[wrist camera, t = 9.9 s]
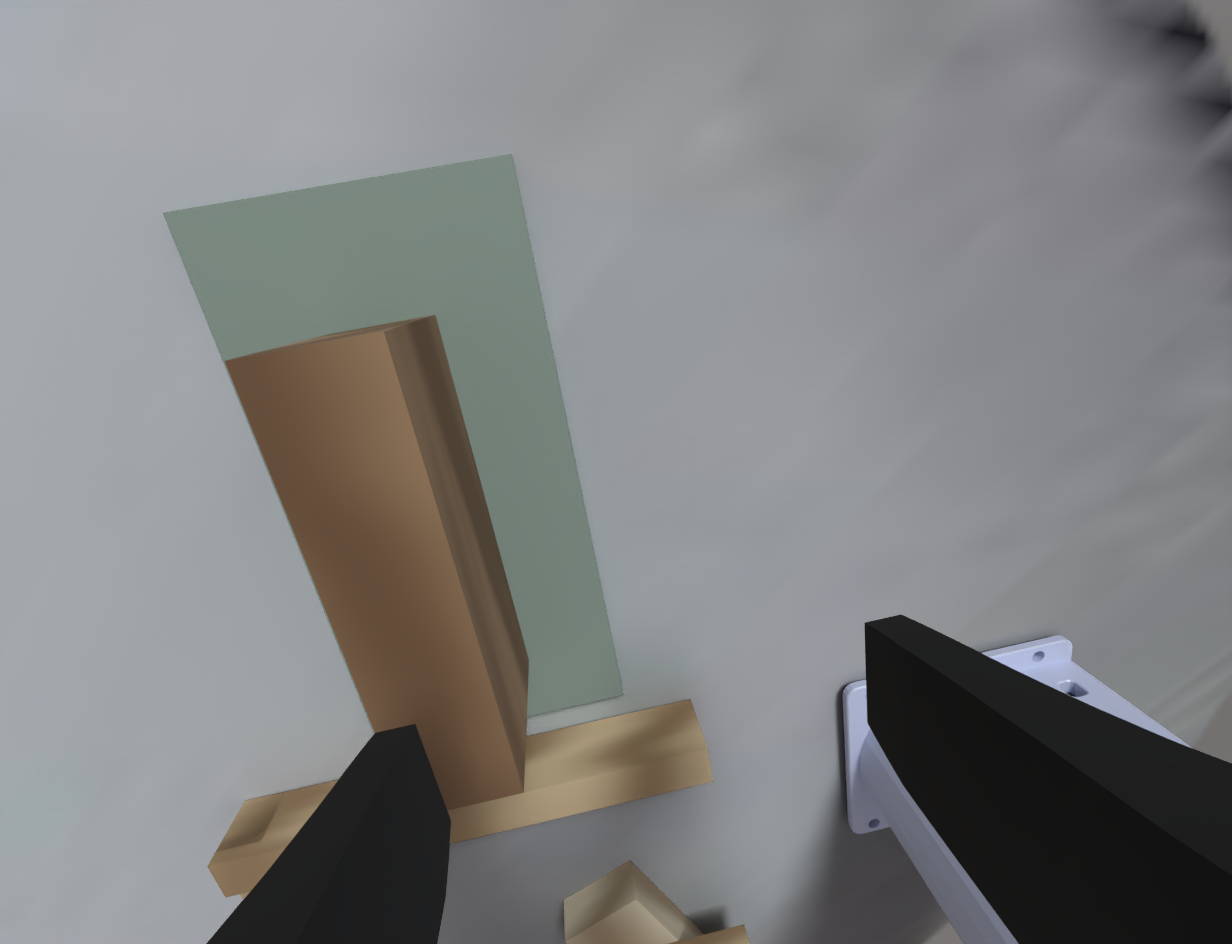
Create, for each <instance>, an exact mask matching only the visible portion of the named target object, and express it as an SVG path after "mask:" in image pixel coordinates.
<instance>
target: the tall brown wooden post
mask: <svg viewBox="0 0 1232 944" xmlns="http://www.w3.org/2000/svg"><path fill="white" fill-rule="evenodd" d="M225 364H226V366H227V369H228V371H229V374H230V376H231V379H232V381H233V384H234V386H235V389H236V391H237V393H238V396H239V398H240V401H241V403H242V406H243V408H244V411H245V413H246V416H247V418H248V421H249V423H250V426H251V428H252V431H253V433H254V435H255V438H256V440H257V443H258V445H259V448H260V450H261V453H262V455H263V458H264V460H265V463H266V465H267V468H268V470H269V473H270V475H271V478H272V480H273V482H274V485H275V487H276V490H277V492H278V495H279V497H280V500H281V502H282V505H283V507H284V510H285V512H286V515H287V517H288V520H289V522H290V524H291V527H292V529H293V532H294V534H295V537H296V539H297V542H298V544H299V547H300V549H301V552H302V554H303V557H304V559H305V562H306V564H307V567H308V569H309V571H310V574H311V576H312V579H313V581H314V584H315V586H316V589H317V591H318V594H319V596H320V599H321V601H322V604H323V606H324V609H325V611H326V613H327V616H328V618H329V621H330V623H331V626H332V628H333V631H334V633H335V636H336V638H337V641H338V643H339V646H340V648H341V651H342V653H343V656H344V658H345V660H346V663H347V665H348V668H349V670H350V673H351V675H352V678H353V680H354V683H355V685H356V688H357V690H358V693H359V695H360V698H361V700H362V702H363V705H364V707H365V710H366V712H367V715H368V717H369V720H370V722H371V725H372V727H373V730H374V732H375V733H376V732H381V731H385V730H390V729H394V728H398V727H403V726H407V725H412V724H416V727H417V730H418V733H419V735H420V738H421V741H422V743H423V746H424V749H425V751H426V754H427V757H428V760H429V762H430V765H431V768H432V770H433V773H434V776H435V778H436V781H437V784H438V787H439V789H440V792H441V795H442V797H443V800H444V803H445V805H446V808H447V811H448V810H452V809H457V808H461V807H465V806H469V805H474V804H478V803H482V802H486V801H491V800H495V799H499V798H504V797H508V796H512V795H516V794H521V793H524V777H525V751H526V726H527V700H528V674H529V658H528V655H527V651H526V647H525V644H524V640H523V636H522V633H521V629H520V625H519V622H518V618H517V614H516V610H515V607H514V603H513V599H512V596H511V592H510V588H509V585H508V581H507V577H506V573H505V570H504V566H503V562H502V559H501V555H500V551H499V548H498V544H497V540H496V537H495V533H494V529H493V525H492V522H491V518H490V514H489V511H488V507H487V503H486V500H485V496H484V492H483V489H482V485H481V481H480V477H479V474H478V470H477V466H476V463H475V459H474V455H473V452H472V448H471V444H470V440H469V437H468V433H467V429H466V426H465V422H464V418H463V415H462V411H461V407H460V404H459V400H458V396H457V392H456V389H455V385H454V381H453V378H452V374H451V370H450V367H449V363H448V359H447V356H446V352H445V348H444V344H443V341H442V337H441V333H440V330H439V326H438V322H437V319H436V315H431V316H425V317H420V318H415V319H409V320H404V321H398V322H393V323H387V324H382V325H376V326H371V327H366V328H360V329H355V330H349V331H344V332H338V333H333V334H328V335H324V336H320V337H316V338H312V339H308V340H304V341H300V342H296V343H293V344H289V345H285V346H281V347H277V348H273V349H269V350H265V351H261V352H257V353H253V354H249V355H246V356H242V357H238V358H234V359H230V360H226V361H225Z"/></svg>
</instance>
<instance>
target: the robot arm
mask: <svg viewBox="0 0 1232 944" xmlns="http://www.w3.org/2000/svg"><path fill="white" fill-rule="evenodd" d="M865 653H866V680H861V681H857V682H853V683H851V684H849V685H848V686H846V688H845V689H844V691H843V716H844V739H845V762H846V785H847V808H848V823H849V825H850V827H851V829H852V831H853V832H854V833H857V834H864V833H868V832H872V831H876V830H880V829H884V828H888V827H890V828H891V830H892V831H893V833H894V834H895V836H896V837H897V839H898V841H899V842H900V844H901V845H902V847H903V849H904V850H905V852H906V853H907V855H908V856H909V858H910V860H911V861H912V863H913V864H914V866H915V868H916V869H917V871H918V872H919V874H920V875H921V877H922V879H923V880H924V882H925V883H926V885H927V887H928V888H929V890H930V891H931V893H932V894H933V896H934V898H935V899H936V901H937V902H938V904H939V906H940V907H941V909H942V910H943V912H944V913H945V915H946V917H947V918H948V920H949V921H950V923H951V925H952V926H953V928H954V929H955V931H956V932H957V934H958V936H959V937H960V939H961V940H962V942H963V943H964V944H1232V764H1231V763H1229V762H1226V761H1223V760H1221V759H1218V758H1215V757H1213V756H1210V755H1208V754H1205V753H1202V752H1200V751H1197V750H1195V749H1193V748H1191V747H1190V746H1189V745H1187V744H1186V743H1184V742H1183V741H1182V740H1180V739H1179V738H1178V737H1176V736H1175V735H1173V734H1172V733H1171V732H1169V731H1168V730H1166V729H1165V728H1164V727H1162V726H1161V725H1160V724H1158V723H1157V722H1155V721H1154V720H1153V719H1151V718H1150V717H1148V716H1147V715H1146V714H1144V713H1143V712H1142V711H1140V710H1139V709H1137V708H1136V707H1135V706H1133V705H1132V704H1131V703H1129V702H1128V701H1126V700H1125V699H1124V698H1122V697H1121V696H1119V695H1118V694H1117V693H1115V692H1114V691H1113V690H1111V689H1110V688H1108V687H1107V686H1106V685H1104V684H1103V683H1101V682H1100V681H1099V680H1097V679H1096V678H1095V677H1093V676H1092V675H1090V674H1089V673H1088V672H1086V671H1085V670H1083V669H1082V668H1081V667H1079V666H1078V665H1077V664H1075V663H1074V662H1072V661H1071V655H1072V643H1071V642H1070V641H1069V640H1067V639H1066V638H1064V637H1062V636H1052V637H1048V638H1043V639H1039V640H1035V641H1030V642H1026V643H1022V644H1017V645H1013V646H1009V647H1004V648H1000V649H996V650H991V651H987V652H983V653H980V652H978V651H976V650H974V649H972V648H970V647H968V646H966V645H964V644H962V643H960V642H958V641H956V640H954V639H952V638H950V637H948V636H945V635H943V634H941V633H939V632H937V631H935V630H933V629H931V628H929V627H927V626H925V625H923V624H921V623H919V622H916V621H914V620H912V619H910V618H907V617H905V616H903V615H897V616H893V617H888V618H884V619H880V620H875V621H871V622H866V623H865ZM866 693H867V694H866ZM450 831H451V819H450V816H449V814H448V811H447V808H446V805H445V803H444V800H443V797H442V795H441V792H440V789H439V787H438V784H437V781H436V778H435V776H434V773H433V770H432V768H431V765H430V762H429V760H428V757H427V754H426V751H425V749H424V746H423V743H422V741H421V738H420V735H419V733H418V730H417V727H416V724H412V725H407V726H403V727H398V728H394V729H390V730H385V731H381V732H376V733H375V734H374V735H373V736H372V738H371V739H370V740H369V741H368V742H367V744H366V745H365V746H364V747H363V749H362V750H361V751H360V753H359V754H358V755H357V756H356V758H355V759H354V760H353V762H352V763H351V764H350V766H349V767H348V768H347V769H346V771H345V772H344V773H343V775H342V776H341V777H340V779H339V780H338V781H337V783H336V784H335V785H334V786H333V788H332V789H331V790H330V792H329V793H328V794H327V796H326V797H325V798H324V800H323V801H322V802H321V803H320V805H319V806H318V807H317V809H316V810H315V811H314V812H313V814H312V815H311V816H310V818H309V819H308V820H307V821H306V823H305V824H304V825H303V827H302V828H301V829H300V830H299V832H298V833H297V834H296V835H295V837H294V838H293V839H292V841H291V842H290V843H289V844H288V846H287V847H286V848H285V849H284V851H283V852H282V853H281V855H280V856H279V857H278V858H277V860H276V861H275V862H274V863H273V865H272V866H271V867H270V868H269V870H268V871H267V872H266V873H265V875H264V876H263V877H262V878H261V879H260V881H259V882H258V883H257V884H256V885H255V887H254V888H253V889H252V890H251V891H250V893H249V894H248V895H247V896H246V897H245V898H244V900H243V901H242V902H241V903H240V904H239V906H238V907H237V908H236V909H235V910H234V912H233V913H232V914H231V915H230V916H229V918H228V919H227V920H226V921H225V922H224V923H223V925H222V926H221V927H220V928H219V929H218V931H217V932H216V933H215V934H214V935H213V937H212V938H211V939H210V940H209V941H208V943H207V944H437V942H438V936H439V930H440V925H441V919H442V914H443V908H444V902H445V896H446V885H447V873H448V862H449V846H450Z"/></svg>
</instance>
